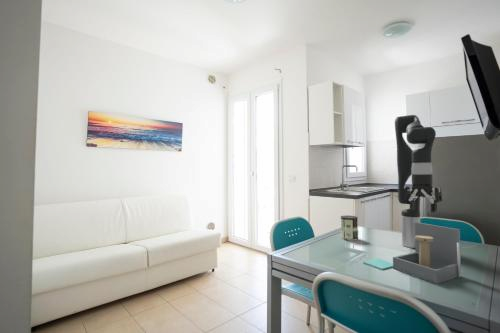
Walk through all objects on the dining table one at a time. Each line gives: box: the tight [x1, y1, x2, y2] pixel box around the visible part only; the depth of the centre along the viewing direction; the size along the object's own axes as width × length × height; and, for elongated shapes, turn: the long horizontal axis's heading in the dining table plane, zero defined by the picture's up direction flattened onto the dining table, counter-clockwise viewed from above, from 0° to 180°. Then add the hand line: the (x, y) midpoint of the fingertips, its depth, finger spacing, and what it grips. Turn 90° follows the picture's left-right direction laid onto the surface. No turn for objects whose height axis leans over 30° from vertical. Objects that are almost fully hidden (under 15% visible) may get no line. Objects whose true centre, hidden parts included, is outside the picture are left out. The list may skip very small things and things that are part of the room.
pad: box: [362, 258, 393, 271], centre depth 121 cm, size 10×10×1 cm
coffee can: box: [340, 215, 359, 241], centre depth 168 cm, size 10×10×14 cm
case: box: [392, 222, 462, 284], centre depth 111 cm, size 17×19×19 cm
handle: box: [415, 236, 433, 268], centre depth 111 cm, size 5×6×15 cm
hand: (422, 211), depth 112 cm, fingers open, 8 cm apart
